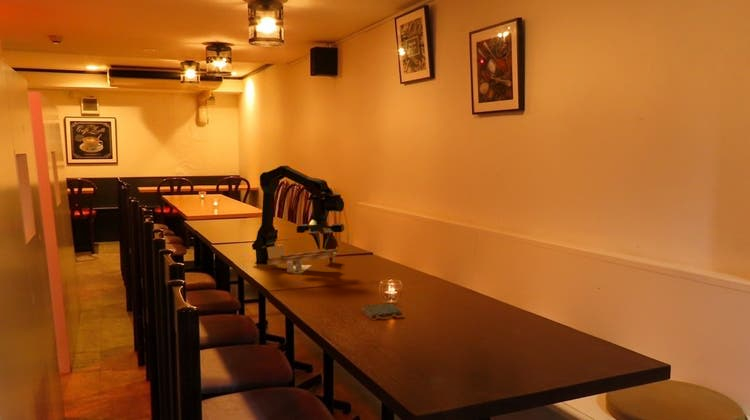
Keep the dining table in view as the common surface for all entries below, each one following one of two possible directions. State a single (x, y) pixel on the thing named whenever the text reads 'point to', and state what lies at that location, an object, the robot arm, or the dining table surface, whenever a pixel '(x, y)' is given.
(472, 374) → the dining table surface
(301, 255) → the beam
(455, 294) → the dining table surface
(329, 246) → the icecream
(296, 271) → the stand
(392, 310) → the woven mat
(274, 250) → the tan block
